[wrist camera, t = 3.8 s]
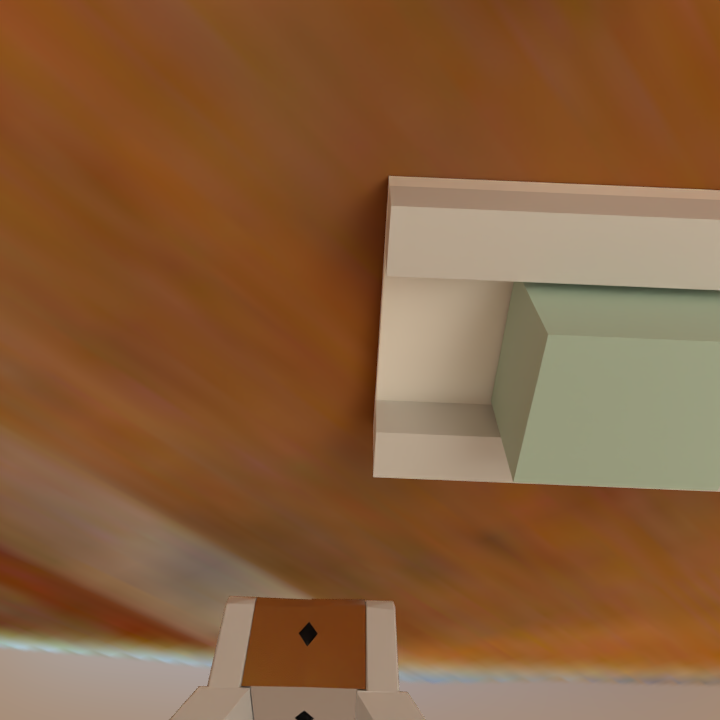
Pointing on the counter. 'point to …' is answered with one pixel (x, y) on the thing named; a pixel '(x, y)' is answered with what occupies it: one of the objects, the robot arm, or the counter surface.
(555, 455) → the block
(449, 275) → the chute
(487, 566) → the counter surface
